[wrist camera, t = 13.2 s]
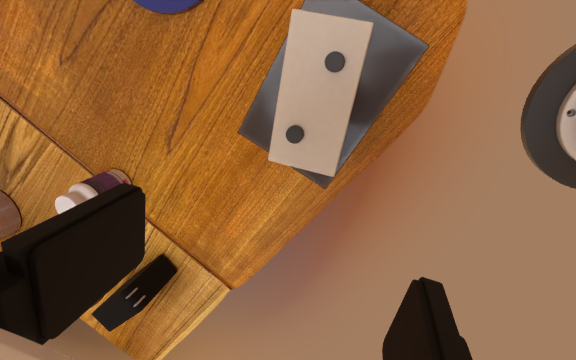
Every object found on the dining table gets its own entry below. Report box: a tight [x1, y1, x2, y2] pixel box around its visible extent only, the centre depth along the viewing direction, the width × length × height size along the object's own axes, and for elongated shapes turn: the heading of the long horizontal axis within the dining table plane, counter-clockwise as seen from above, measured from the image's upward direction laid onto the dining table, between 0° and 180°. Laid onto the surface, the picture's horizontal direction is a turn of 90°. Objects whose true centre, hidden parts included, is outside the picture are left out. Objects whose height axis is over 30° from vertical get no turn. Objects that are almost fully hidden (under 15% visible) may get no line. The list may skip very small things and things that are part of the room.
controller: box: [268, 9, 374, 177], centre depth 21 cm, size 10×5×4 cm, turn 170°
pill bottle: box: [55, 169, 132, 214], centre depth 46 cm, size 5×5×10 cm
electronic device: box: [92, 255, 177, 332], centre depth 51 cm, size 4×10×10 cm, turn 130°
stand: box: [238, 0, 429, 189], centre depth 30 cm, size 13×9×15 cm
